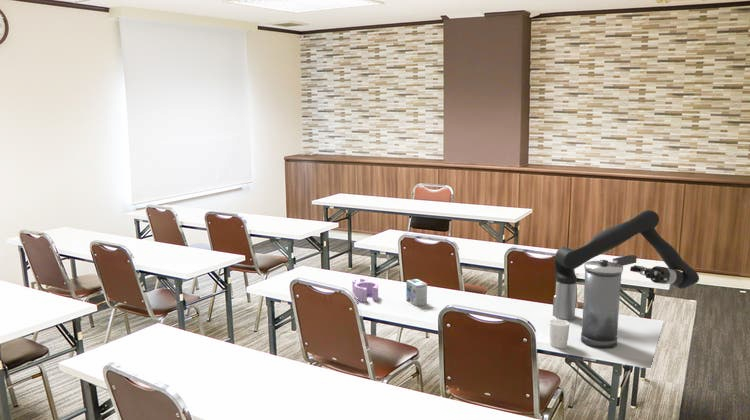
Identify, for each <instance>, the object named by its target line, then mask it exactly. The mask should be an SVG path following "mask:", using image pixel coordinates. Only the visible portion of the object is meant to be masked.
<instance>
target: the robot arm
mask: <svg viewBox="0 0 750 420" xmlns="http://www.w3.org/2000/svg"><path fill="white" fill-rule="evenodd" d="M659 223H660V217H659V214H658V213H657V212H656V211H654V210H651V209H650V210H646V209H645V210H644V211H641V212H640V213H638V214H637V215H635V216H634V217H632V218H631V219H629V220H627V221H624V222H622V223H619V224H616V225H613V226H611V227H609V228H607V229H605V230H602V231H600V232H598V233H596V234H595V235H594V236H593V237H592V238H591V239H590V241H589V242H588V243H586V244H584V245H582V246H581V247H578V248H575V249H572V248H570V247H566V246H563V247H560V248H559V249H558V250H557V251H556V253H555V256H554V274H555V295H553V301H552V302H553V303H552V315H553V316H554V317H555V318H557V319H560V320H565V321H568V320H570V321H571V320H574V319H576V302H577V301H576V300H577V283H578V280H577V279H578V277H577V275H576V273H575V271H574V270H575V269H578V268H579V267H581V266H582V265H585V263H586V262H589V261H591V260H592V259H593V258H595V257H598V256H600V255H603V254H605V253H606V252H608V251H610V250H613V249H615V248H617V247H618V246H620V245H622V244H624V243H625V242H628V240H630V239H631V238H633V237H634V236H636V235H638V234H640V235H641V236H643V238H644V239H645V240H646V241H647V242H648V243H649V244H650V245H651V246H652V248H654V250H655V251H656V252H657V254H658V255H659V256H660V258H661V259H662V260H663V262H664V264H665V265H666V267H665V266H659V265H657V266H653V267H652V268H651V267H645V266H641V265H635V264H633V265H632V266H630V269H629V271H630V272H632V273H633V272H634V273H638V274H640V275H641V276H645V278H646V279H650V280H651V282H653V283H655V284H660V285H661V284H662V285H673V286H675V288H678V289H686V288H689V287H690V286H693V285H695V284H698V282H699V281H700V276H699V273H698V272H697V271H696V270H695V269H694V268H693V267H692V266H690V265H689V264H688V263H687V262H686V261H684V260H683V259H682V257H681V255H680V254H679V253H678V251H677V250H676V249H675V248H674V246H672V245H671V244H670V243H669V242H667V241H666V240H665V239H664V238H663V237H662V236H661V235H660V234H659V233H658V232H657V230H656V228H657V226H658V225H659Z"/></svg>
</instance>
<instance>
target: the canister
mask: <svg viewBox="0 0 750 420" xmlns="http://www.w3.org/2000/svg"><path fill="white" fill-rule="evenodd" d="M622 274H623V272H621V273H617V274H603V273H596V272H592V271H588V270H586V269H585V268H584V285H583V286H584V287H583V288H584V291H583V305H582V308H583V309H582V322H581V334H580V341H581V344H583V345H584V346H587V347H591V348H594V349H599V350H601V349H602V350H609V349H614V348H616V347H617V346H618V329H619V328H618V327H619V317H620V316H619V313H620V312H619V311H620V299H621V284H622Z"/></svg>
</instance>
